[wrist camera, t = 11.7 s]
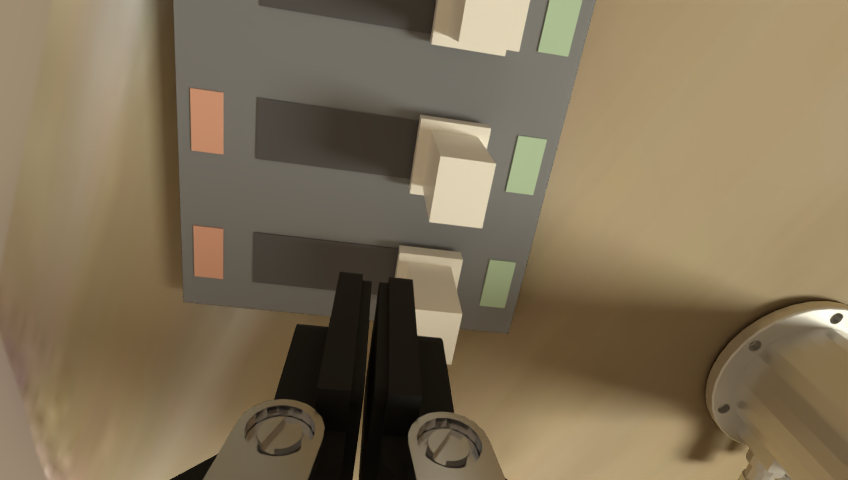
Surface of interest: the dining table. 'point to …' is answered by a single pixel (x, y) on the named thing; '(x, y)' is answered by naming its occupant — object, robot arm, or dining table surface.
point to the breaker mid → (453, 170)
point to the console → (355, 146)
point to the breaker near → (480, 25)
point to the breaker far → (434, 292)
